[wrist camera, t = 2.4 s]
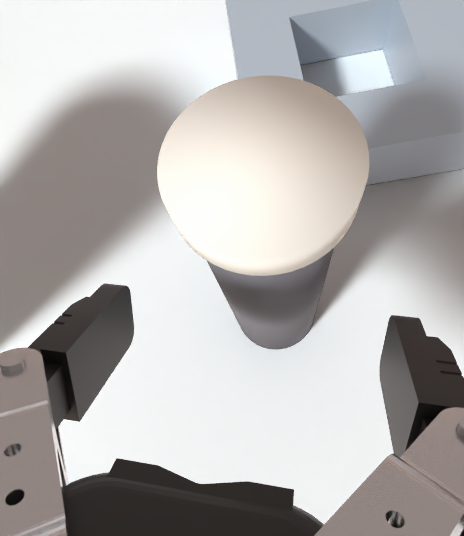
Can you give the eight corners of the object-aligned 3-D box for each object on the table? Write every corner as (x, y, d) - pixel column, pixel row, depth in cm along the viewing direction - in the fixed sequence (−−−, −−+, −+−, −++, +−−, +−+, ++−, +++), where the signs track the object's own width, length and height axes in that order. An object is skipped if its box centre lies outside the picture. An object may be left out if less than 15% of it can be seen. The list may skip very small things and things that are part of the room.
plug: (237, 360, 24) (164, 274, 9) (227, 276, 25) (151, 95, 11) (327, 347, 23) (394, 238, 9) (310, 263, 25) (343, 58, 11)
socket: (257, 203, 27) (253, 168, 23) (230, 38, 31) (223, -13, 28) (486, 165, 26) (520, 121, 22) (422, 0, 30) (441, -58, 27)
